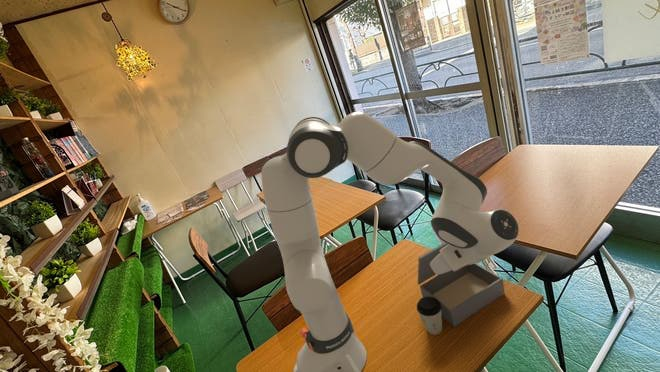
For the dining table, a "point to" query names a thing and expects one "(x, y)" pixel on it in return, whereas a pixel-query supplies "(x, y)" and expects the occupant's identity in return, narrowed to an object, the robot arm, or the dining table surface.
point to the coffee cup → (430, 314)
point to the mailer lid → (427, 264)
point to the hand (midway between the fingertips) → (452, 258)
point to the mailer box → (463, 291)
